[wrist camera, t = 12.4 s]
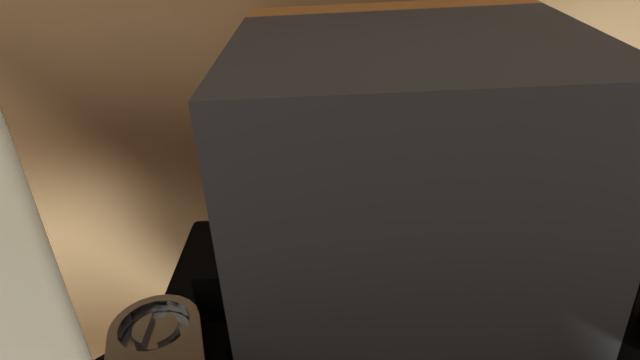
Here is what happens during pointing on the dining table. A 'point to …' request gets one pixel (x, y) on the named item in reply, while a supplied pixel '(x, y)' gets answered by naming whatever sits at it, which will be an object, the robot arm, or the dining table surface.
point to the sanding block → (422, 182)
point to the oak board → (135, 129)
